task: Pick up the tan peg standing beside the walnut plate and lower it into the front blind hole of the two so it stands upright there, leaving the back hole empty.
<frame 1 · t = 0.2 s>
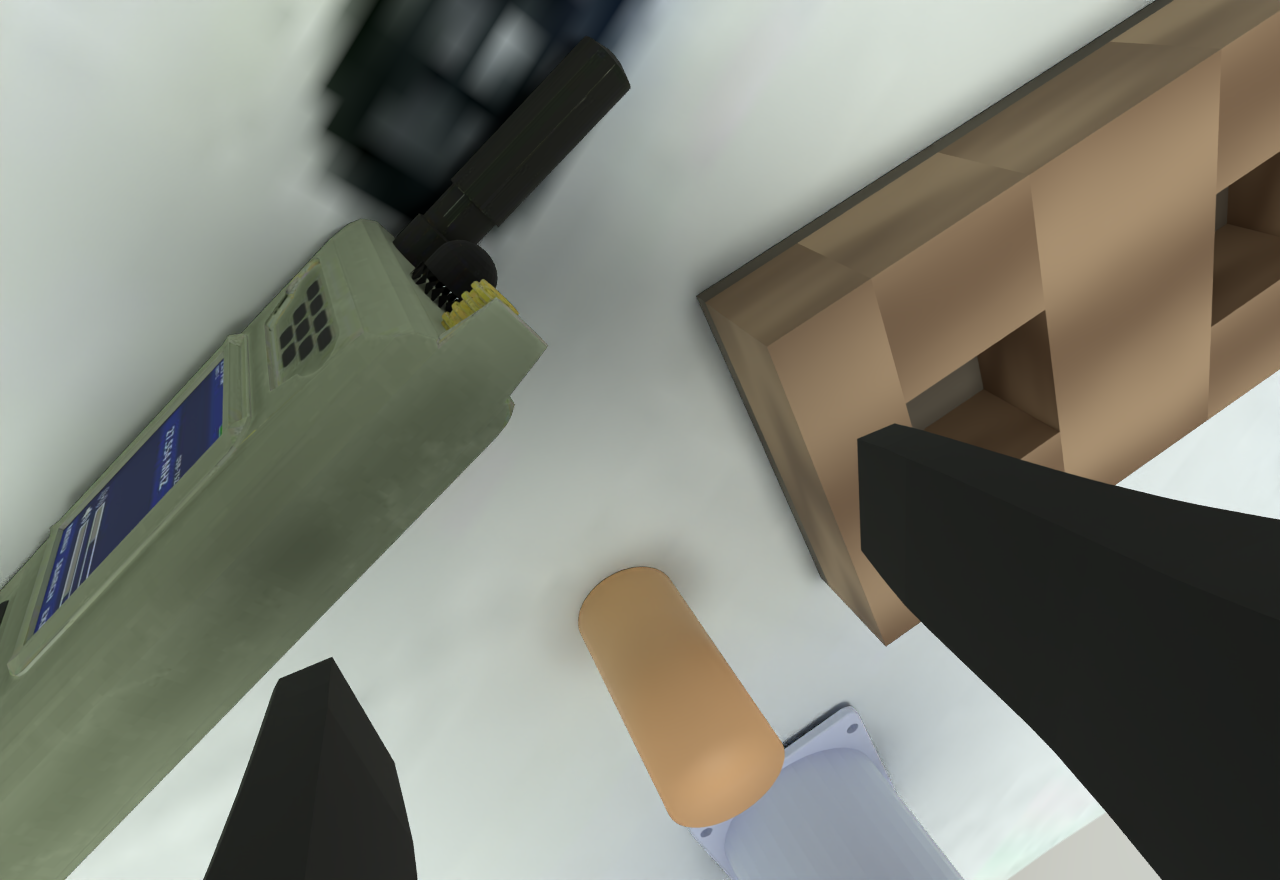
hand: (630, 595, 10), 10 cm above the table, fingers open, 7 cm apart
tan peg: (627, 609, 24), on the table
handheld radio: (197, 468, 18), on the table
walnut hole plate: (1033, 280, 24), on the table
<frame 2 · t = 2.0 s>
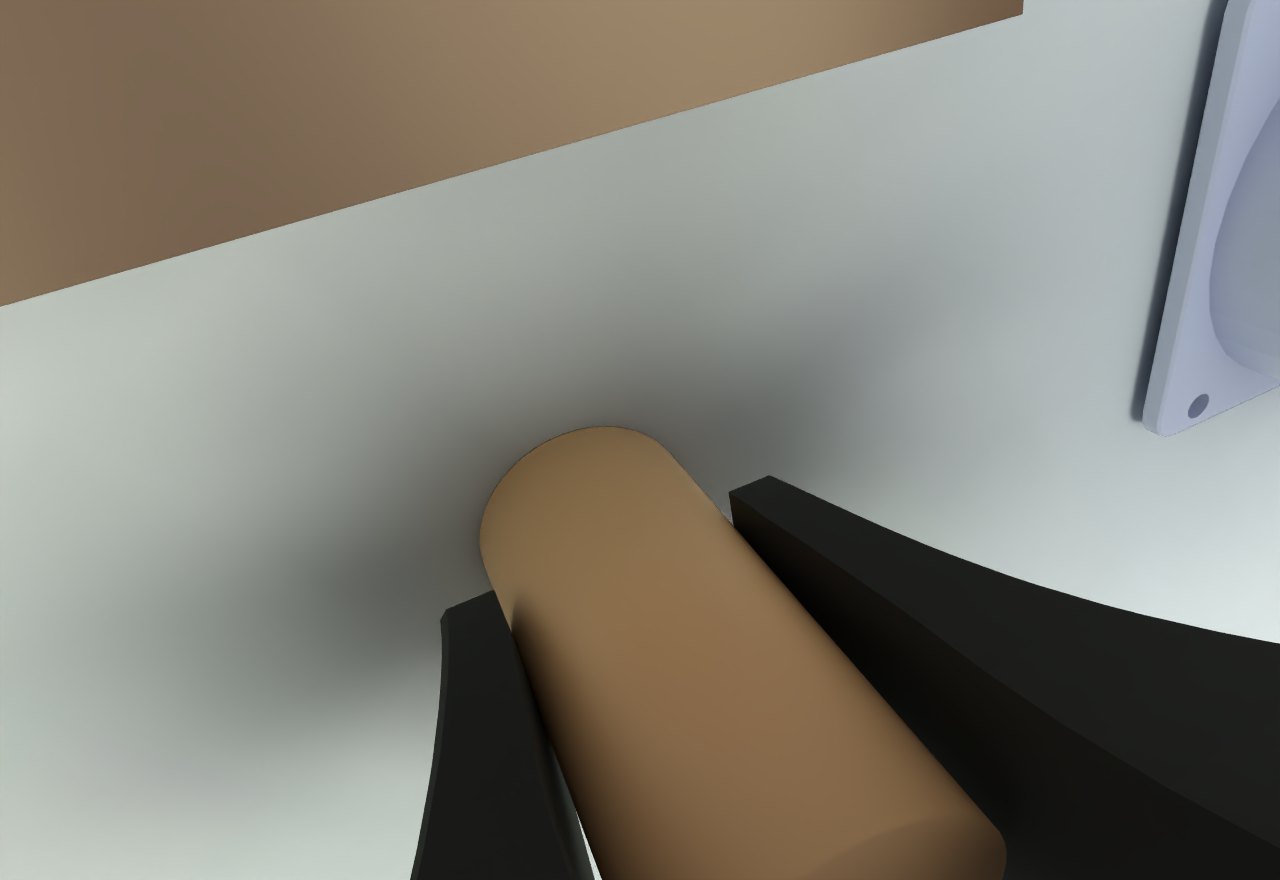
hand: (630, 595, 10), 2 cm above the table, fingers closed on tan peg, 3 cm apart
tan peg: (587, 523, 12), on the table, touching gripper
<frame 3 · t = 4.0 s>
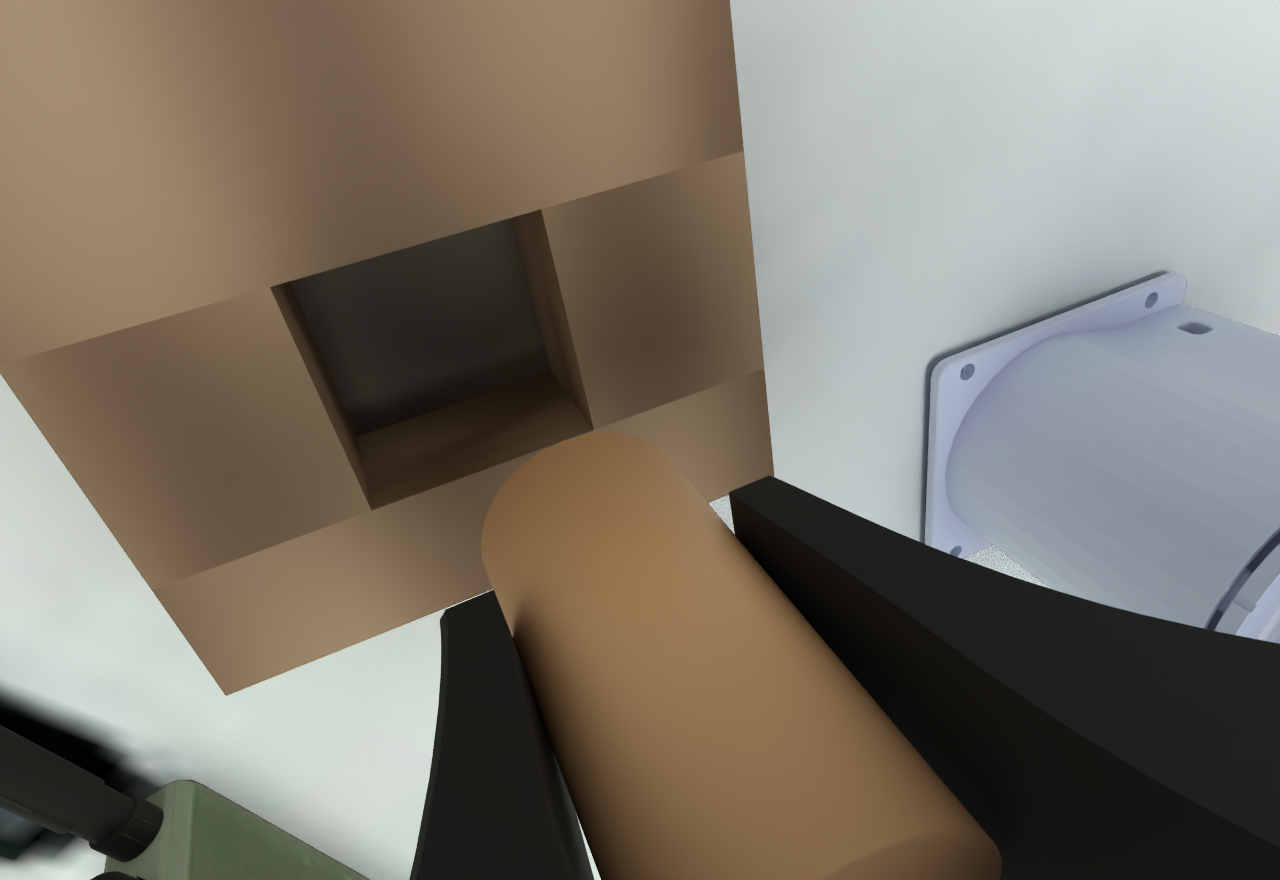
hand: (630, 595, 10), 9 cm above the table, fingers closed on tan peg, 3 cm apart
tan peg: (588, 527, 12), point 7 cm above the table, touching gripper
walnut hole plate: (331, 42, 14), on the table
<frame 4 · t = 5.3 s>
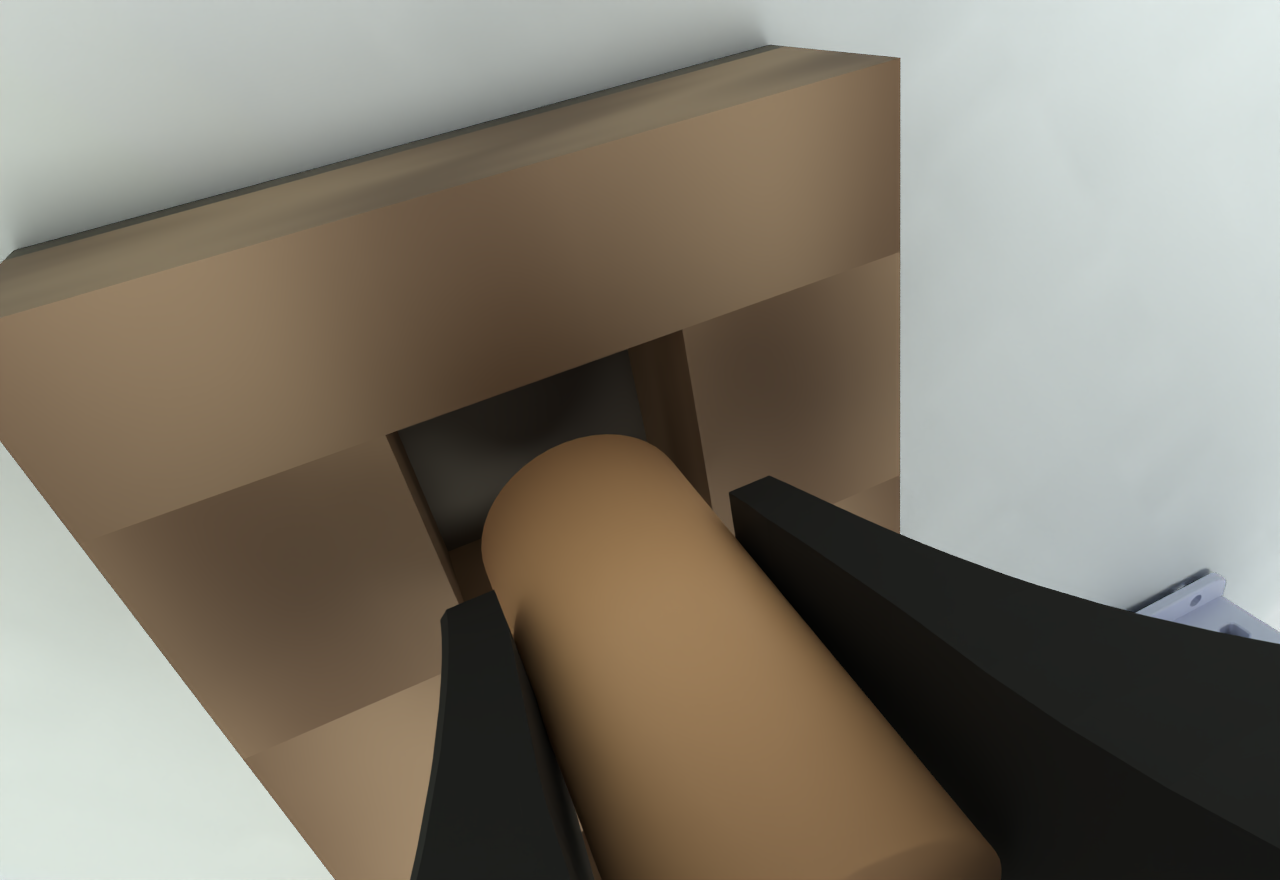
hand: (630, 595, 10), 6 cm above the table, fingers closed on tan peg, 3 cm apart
tan peg: (588, 528, 12), point 4 cm above the table, touching gripper
walnut hole plate: (577, 593, 18), on the table
when the fingers open (4 cm above the table, at t = 5.9 s): tan peg drops 2 cm, resting on walnut hole plate.
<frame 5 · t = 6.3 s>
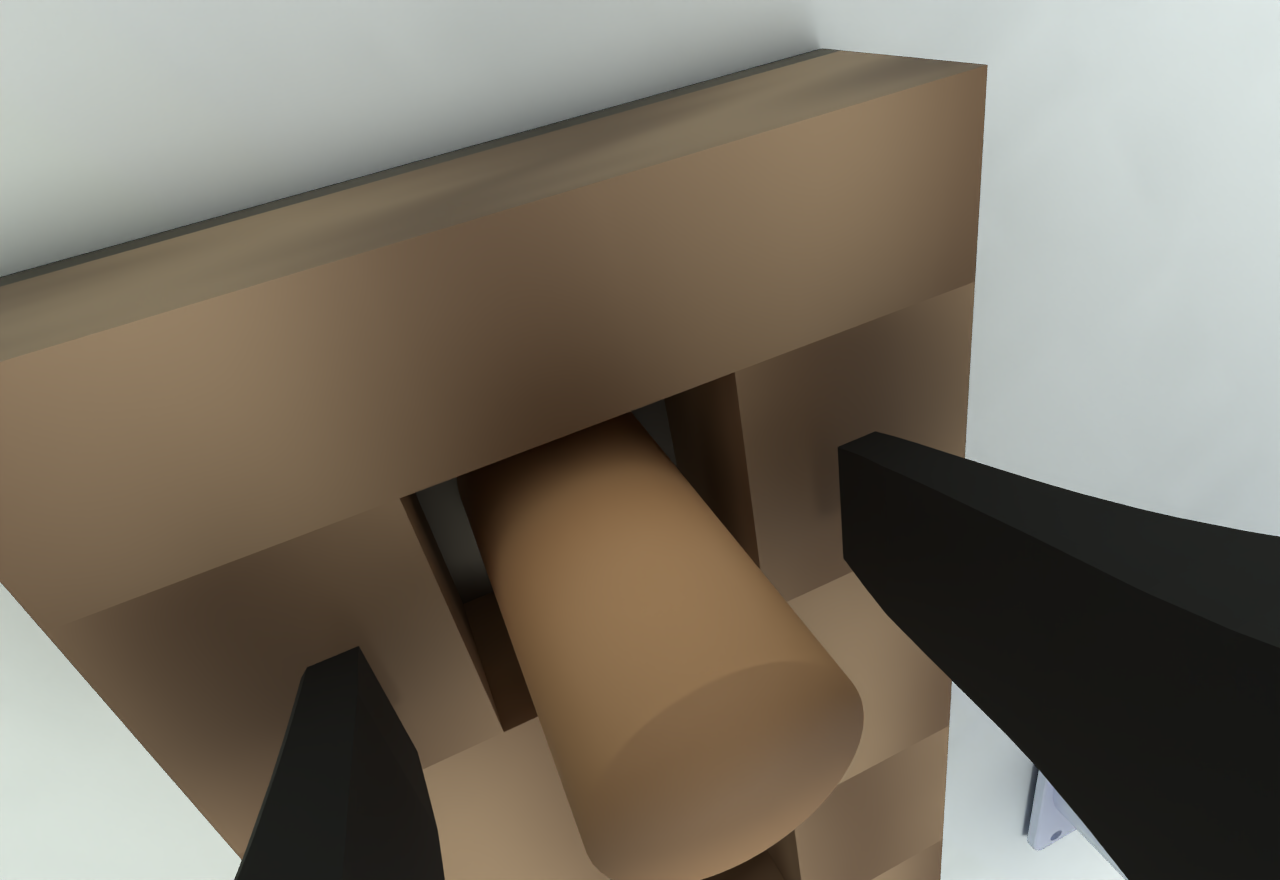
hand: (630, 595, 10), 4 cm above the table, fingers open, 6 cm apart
tan peg: (552, 465, 13), point 1 cm above the table, touching walnut hole plate
walnut hole plate: (600, 641, 16), on the table
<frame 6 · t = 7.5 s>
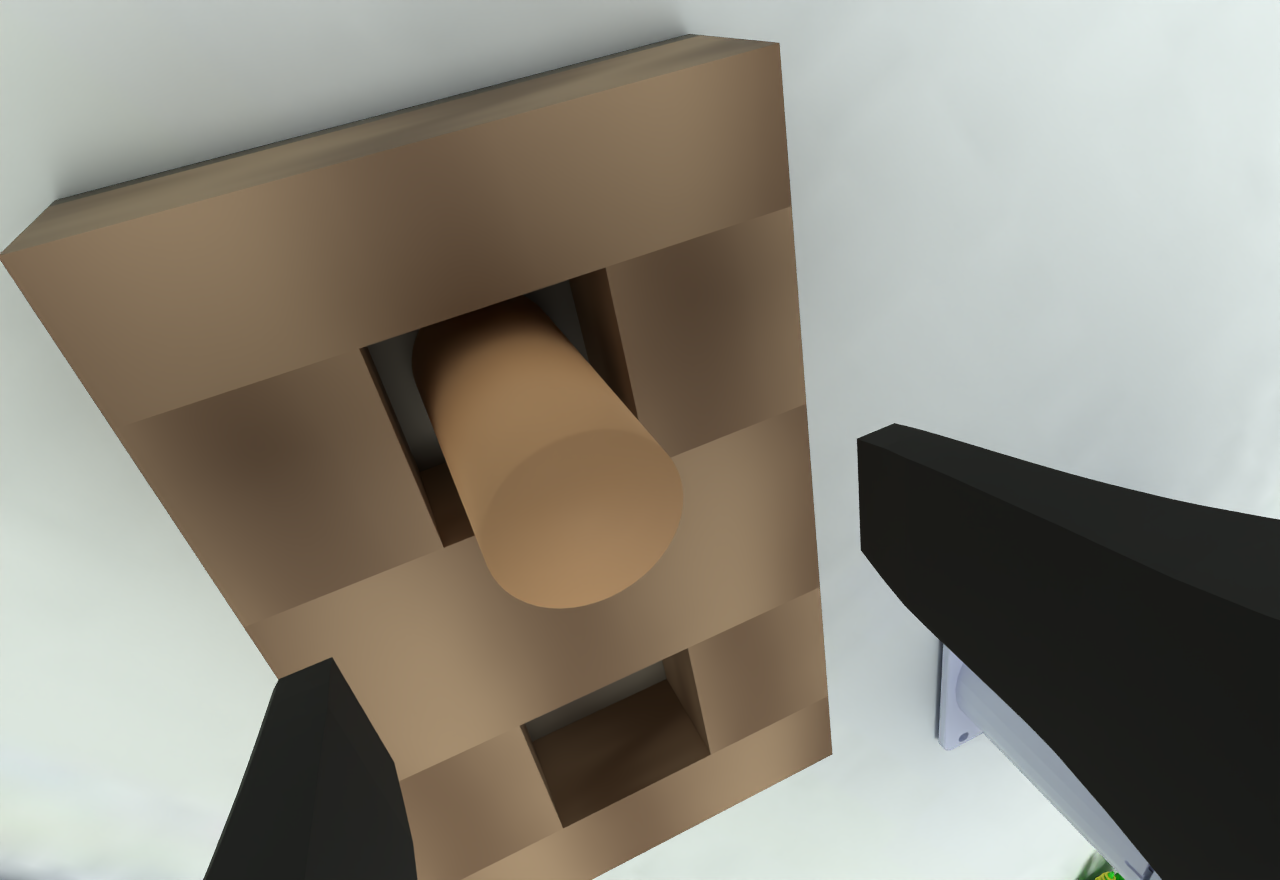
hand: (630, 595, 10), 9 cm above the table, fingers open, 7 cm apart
tan peg: (487, 359, 17), point 1 cm above the table, touching walnut hole plate
walnut hole plate: (536, 518, 20), on the table
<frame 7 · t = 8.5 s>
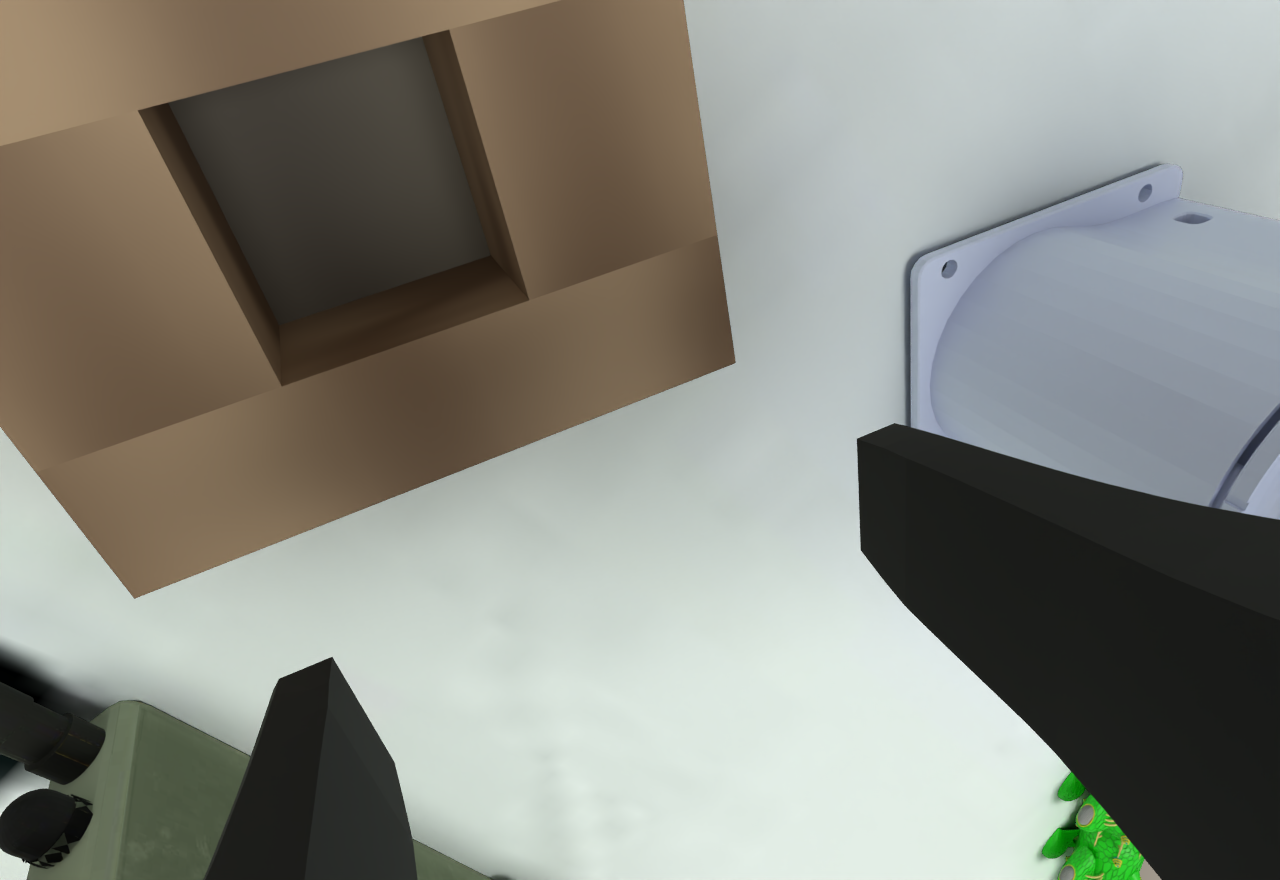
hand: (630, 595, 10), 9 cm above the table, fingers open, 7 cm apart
crocodile figurine: (1083, 793, 45), on the table
handheld radio: (306, 810, 23), on the table
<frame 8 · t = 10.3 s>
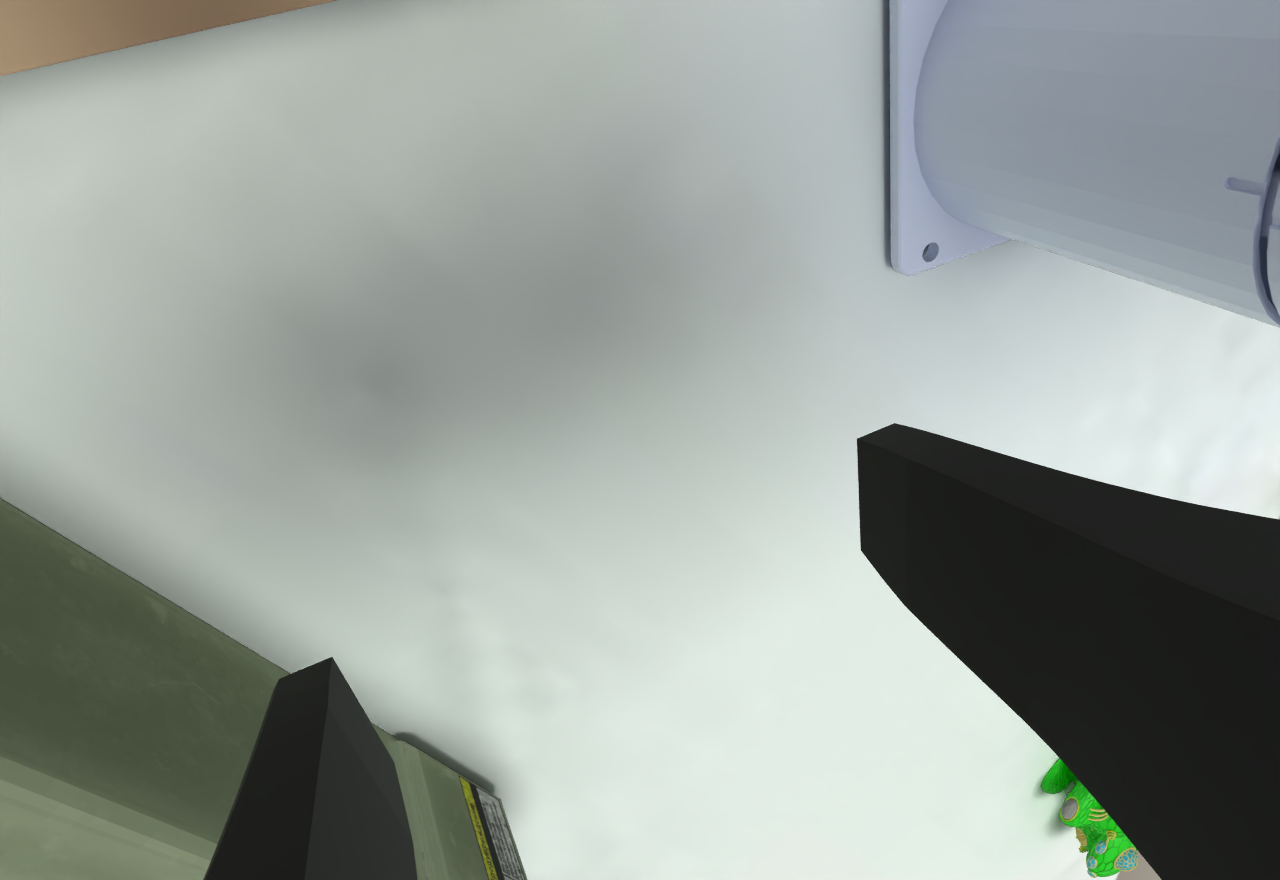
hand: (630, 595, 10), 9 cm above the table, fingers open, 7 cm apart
crocodile figurine: (1087, 719, 40), on the table
handheld radio: (141, 621, 18), on the table
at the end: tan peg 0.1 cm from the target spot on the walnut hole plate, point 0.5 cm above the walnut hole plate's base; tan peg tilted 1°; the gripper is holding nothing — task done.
